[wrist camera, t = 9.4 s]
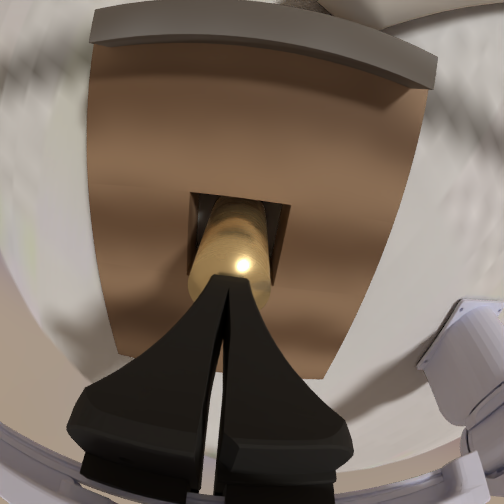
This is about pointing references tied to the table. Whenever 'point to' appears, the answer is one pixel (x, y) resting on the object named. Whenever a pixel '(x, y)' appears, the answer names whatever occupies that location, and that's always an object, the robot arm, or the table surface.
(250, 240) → the brass cylinder
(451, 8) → the tube
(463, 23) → the table surface
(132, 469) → the robot arm
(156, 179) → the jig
